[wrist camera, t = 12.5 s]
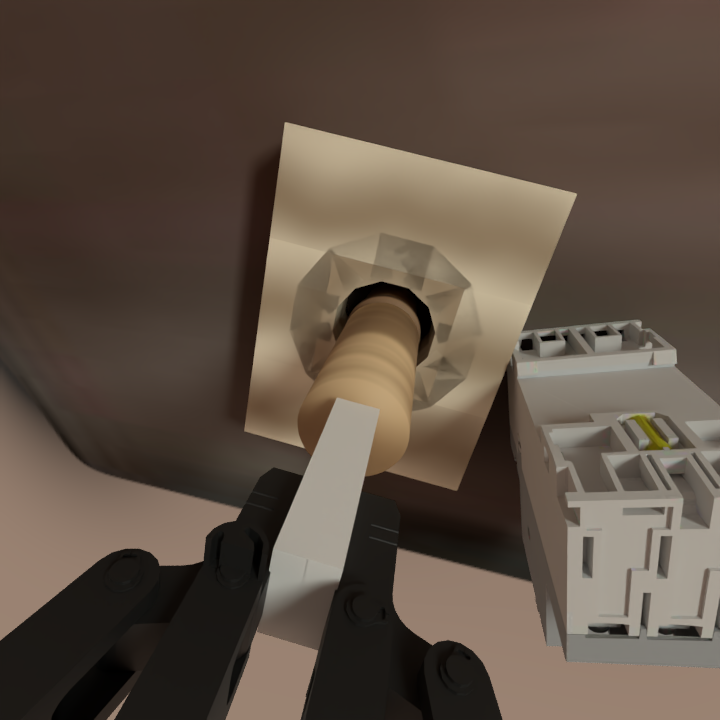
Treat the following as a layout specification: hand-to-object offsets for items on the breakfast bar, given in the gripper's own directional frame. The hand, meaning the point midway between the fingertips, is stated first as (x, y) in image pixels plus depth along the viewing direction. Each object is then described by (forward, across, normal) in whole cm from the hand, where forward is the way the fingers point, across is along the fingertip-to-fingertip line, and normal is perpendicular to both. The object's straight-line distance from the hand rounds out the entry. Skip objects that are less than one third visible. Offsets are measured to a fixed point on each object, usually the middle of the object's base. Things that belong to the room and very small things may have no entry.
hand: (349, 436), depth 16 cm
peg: (+14, 0, 0) cm, 14 cm away
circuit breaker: (+15, +13, -5) cm, 20 cm away
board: (+14, 0, 0) cm, 14 cm away
